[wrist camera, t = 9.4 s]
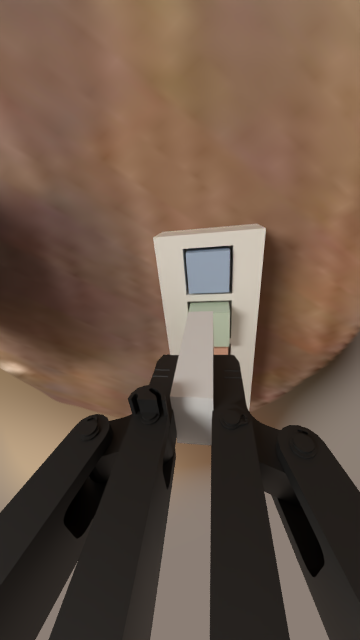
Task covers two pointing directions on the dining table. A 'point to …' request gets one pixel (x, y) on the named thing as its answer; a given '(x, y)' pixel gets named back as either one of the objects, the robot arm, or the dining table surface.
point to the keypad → (241, 295)
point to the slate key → (208, 269)
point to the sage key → (216, 320)
